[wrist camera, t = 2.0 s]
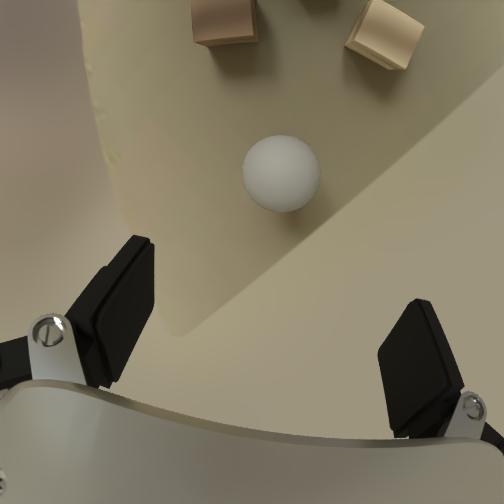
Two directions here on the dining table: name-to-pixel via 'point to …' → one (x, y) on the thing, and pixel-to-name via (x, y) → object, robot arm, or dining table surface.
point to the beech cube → (384, 35)
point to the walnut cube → (224, 22)
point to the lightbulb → (281, 173)
